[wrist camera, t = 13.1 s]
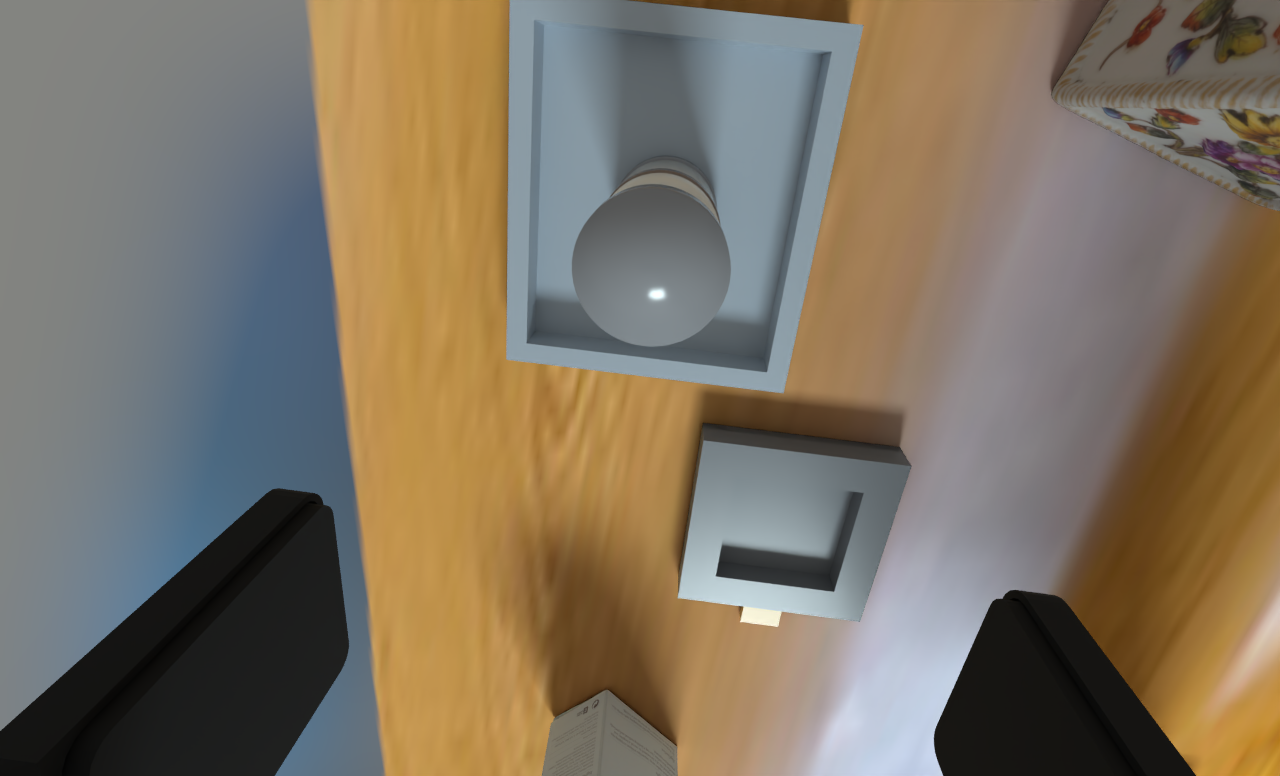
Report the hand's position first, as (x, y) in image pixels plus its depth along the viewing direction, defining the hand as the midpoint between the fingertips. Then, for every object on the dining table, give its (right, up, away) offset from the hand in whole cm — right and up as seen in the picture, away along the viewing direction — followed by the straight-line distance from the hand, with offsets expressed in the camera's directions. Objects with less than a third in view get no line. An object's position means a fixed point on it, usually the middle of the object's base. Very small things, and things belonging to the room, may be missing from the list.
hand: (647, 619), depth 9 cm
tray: (+1, +12, +21) cm, 24 cm away
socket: (+8, -5, +29) cm, 30 cm away
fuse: (+1, +12, +21) cm, 24 cm away
